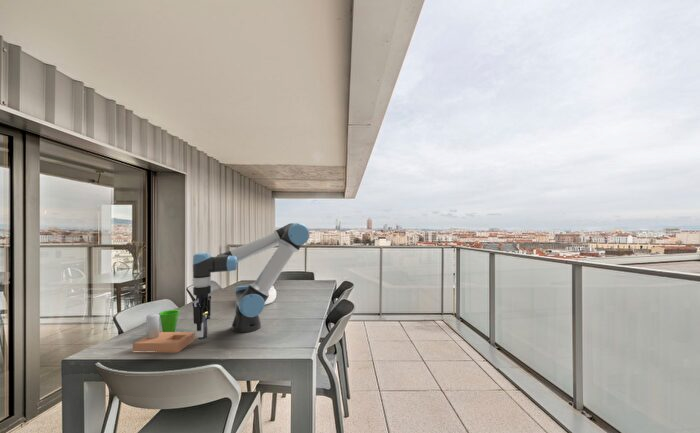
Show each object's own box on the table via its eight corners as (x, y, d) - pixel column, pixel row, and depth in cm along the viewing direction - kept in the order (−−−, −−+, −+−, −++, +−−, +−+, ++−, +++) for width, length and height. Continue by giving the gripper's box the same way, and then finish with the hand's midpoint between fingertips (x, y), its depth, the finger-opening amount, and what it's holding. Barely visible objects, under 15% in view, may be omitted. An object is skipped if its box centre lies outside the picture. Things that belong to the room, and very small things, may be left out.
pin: (209, 335, 143) (209, 310, 144) (205, 339, 139) (204, 313, 139) (200, 335, 143) (199, 310, 144) (194, 339, 138) (194, 313, 139)
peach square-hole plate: (194, 340, 144) (195, 311, 145) (178, 352, 130) (178, 320, 131) (153, 340, 144) (154, 311, 145) (132, 352, 130) (133, 320, 131)
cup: (169, 337, 148) (170, 315, 149) (154, 336, 150) (154, 314, 150) (183, 331, 157) (183, 310, 157) (168, 330, 159) (168, 309, 159)
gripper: (203, 282, 150) (203, 329, 149) (184, 289, 133) (184, 342, 132) (217, 282, 150) (218, 328, 149) (200, 289, 133) (201, 342, 132)
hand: (202, 335), depth 141 cm, fingers closed on pin, 4 cm apart
